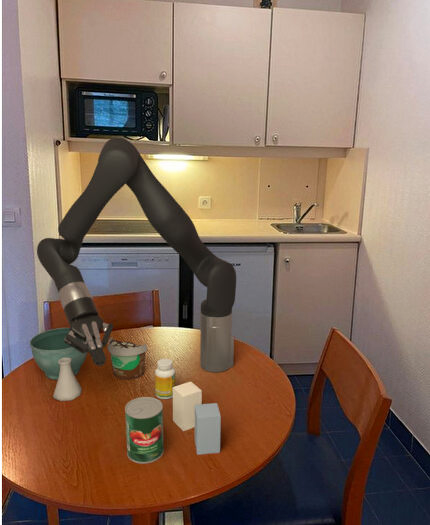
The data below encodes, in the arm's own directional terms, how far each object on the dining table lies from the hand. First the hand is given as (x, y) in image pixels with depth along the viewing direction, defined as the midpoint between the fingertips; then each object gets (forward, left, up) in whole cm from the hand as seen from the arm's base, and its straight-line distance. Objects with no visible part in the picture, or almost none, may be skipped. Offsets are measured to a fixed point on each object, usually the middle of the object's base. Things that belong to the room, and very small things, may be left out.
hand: (101, 364), depth 109 cm
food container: (-9, -15, -13) cm, 22 cm away
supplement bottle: (-17, -1, -13) cm, 21 cm away
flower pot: (+7, -24, -13) cm, 29 cm away
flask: (+7, -11, -13) cm, 19 cm away
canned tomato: (-5, +19, -13) cm, 24 cm away
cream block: (-18, +13, -13) cm, 25 cm away
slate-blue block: (-19, +23, -13) cm, 32 cm away
